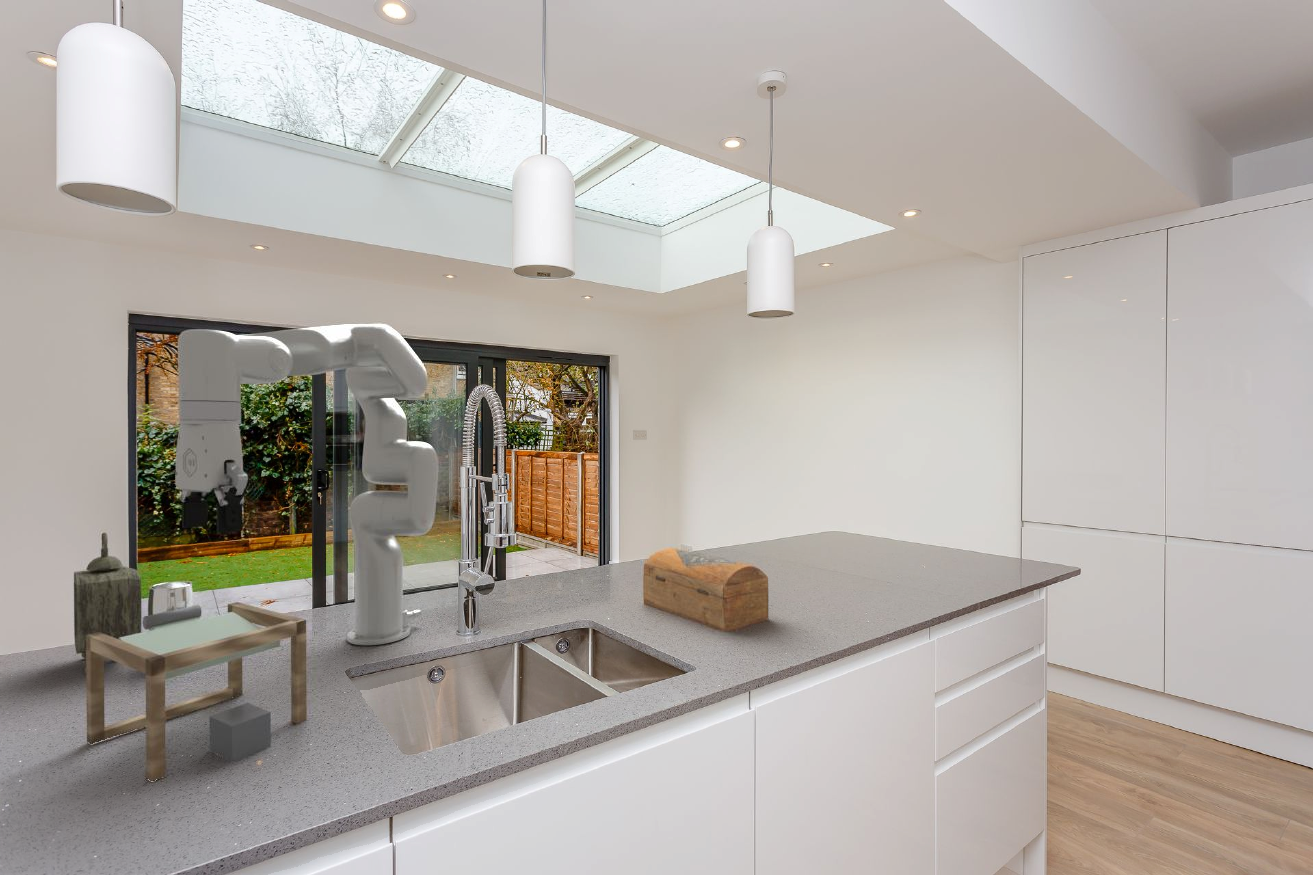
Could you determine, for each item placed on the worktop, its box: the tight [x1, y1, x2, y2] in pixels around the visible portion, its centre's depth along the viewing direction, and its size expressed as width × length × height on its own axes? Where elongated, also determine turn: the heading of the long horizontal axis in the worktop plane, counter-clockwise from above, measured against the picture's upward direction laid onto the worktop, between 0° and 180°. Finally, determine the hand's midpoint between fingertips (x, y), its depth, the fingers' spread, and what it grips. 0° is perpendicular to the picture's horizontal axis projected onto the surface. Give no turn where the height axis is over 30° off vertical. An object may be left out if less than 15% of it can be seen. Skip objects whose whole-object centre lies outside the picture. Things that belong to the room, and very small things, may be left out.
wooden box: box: [642, 548, 769, 632], centre depth 156 cm, size 30×16×14 cm, turn 38°
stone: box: [209, 702, 272, 763], centre depth 88 cm, size 5×5×6 cm
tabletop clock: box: [73, 532, 142, 673], centre depth 121 cm, size 14×9×25 cm, turn 45°
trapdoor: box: [119, 604, 281, 681], centre depth 94 cm, size 15×17×2 cm
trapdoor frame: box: [85, 601, 308, 782], centre depth 93 cm, size 20×20×16 cm
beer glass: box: [147, 580, 195, 616], centre depth 121 cm, size 7×7×15 cm
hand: (212, 529), depth 93 cm, fingers open, 9 cm apart
